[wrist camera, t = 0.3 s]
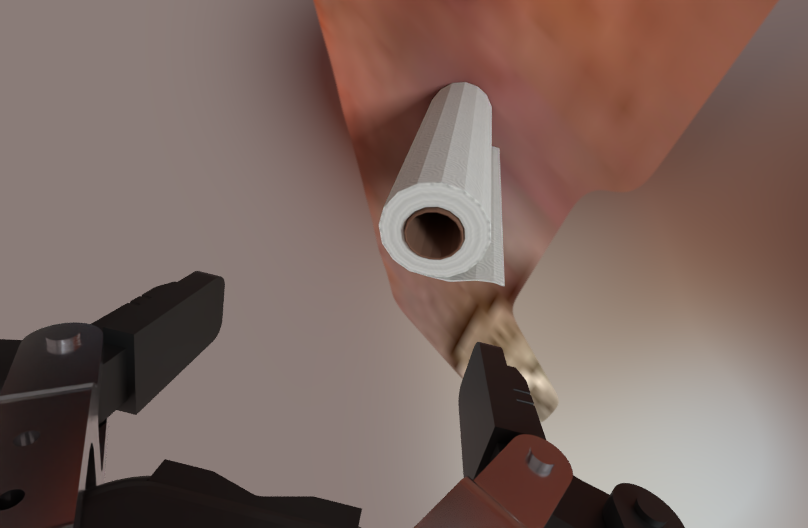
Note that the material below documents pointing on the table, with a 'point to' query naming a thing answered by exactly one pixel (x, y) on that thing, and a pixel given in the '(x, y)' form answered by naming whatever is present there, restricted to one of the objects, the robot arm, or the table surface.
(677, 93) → the table surface
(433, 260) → the paper towel roll
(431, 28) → the table surface
